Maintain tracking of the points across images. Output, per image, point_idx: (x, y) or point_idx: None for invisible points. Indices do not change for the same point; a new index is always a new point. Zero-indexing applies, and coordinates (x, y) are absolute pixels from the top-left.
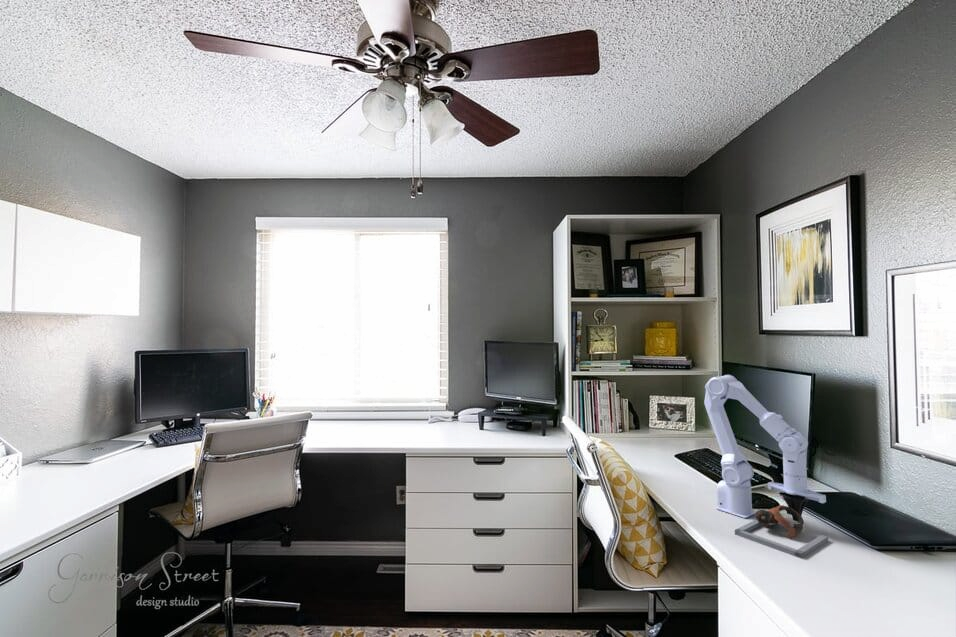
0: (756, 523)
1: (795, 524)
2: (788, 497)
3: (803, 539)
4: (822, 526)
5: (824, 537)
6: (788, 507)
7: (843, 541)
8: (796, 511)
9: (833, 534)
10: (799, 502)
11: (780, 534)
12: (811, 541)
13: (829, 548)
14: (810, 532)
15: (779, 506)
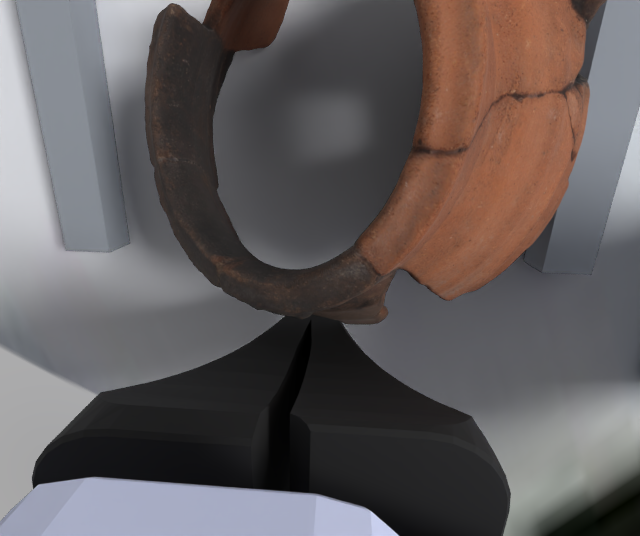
0: (606, 13)
1: (166, 8)
2: (363, 464)
3: None
4: None
5: (68, 209)
6: (333, 271)
7: (43, 313)
8: (275, 341)
9: (133, 377)
10: (118, 396)
11: (359, 56)
12: (66, 9)
13: (10, 101)
14: (230, 300)
15: (445, 104)
